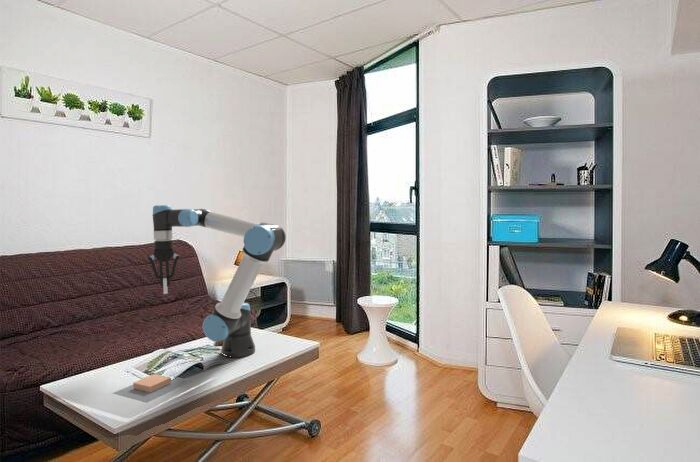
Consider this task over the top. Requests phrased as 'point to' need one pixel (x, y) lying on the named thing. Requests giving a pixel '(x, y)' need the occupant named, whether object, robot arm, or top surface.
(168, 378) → the tile
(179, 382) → the board
